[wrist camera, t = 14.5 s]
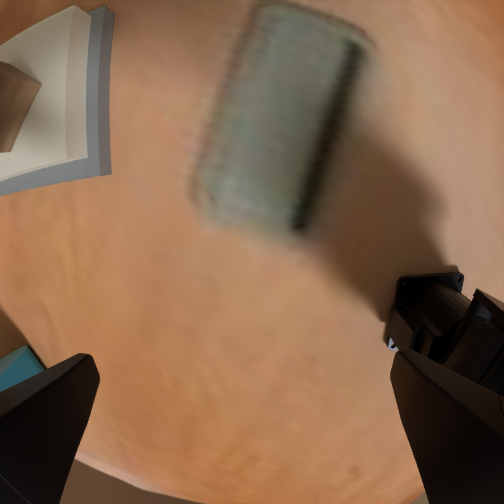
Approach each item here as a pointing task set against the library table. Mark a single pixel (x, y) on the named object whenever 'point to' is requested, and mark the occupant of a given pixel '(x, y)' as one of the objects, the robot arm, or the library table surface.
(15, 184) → the tower base slab
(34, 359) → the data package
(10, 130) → the walnut block
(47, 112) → the tower top slab
